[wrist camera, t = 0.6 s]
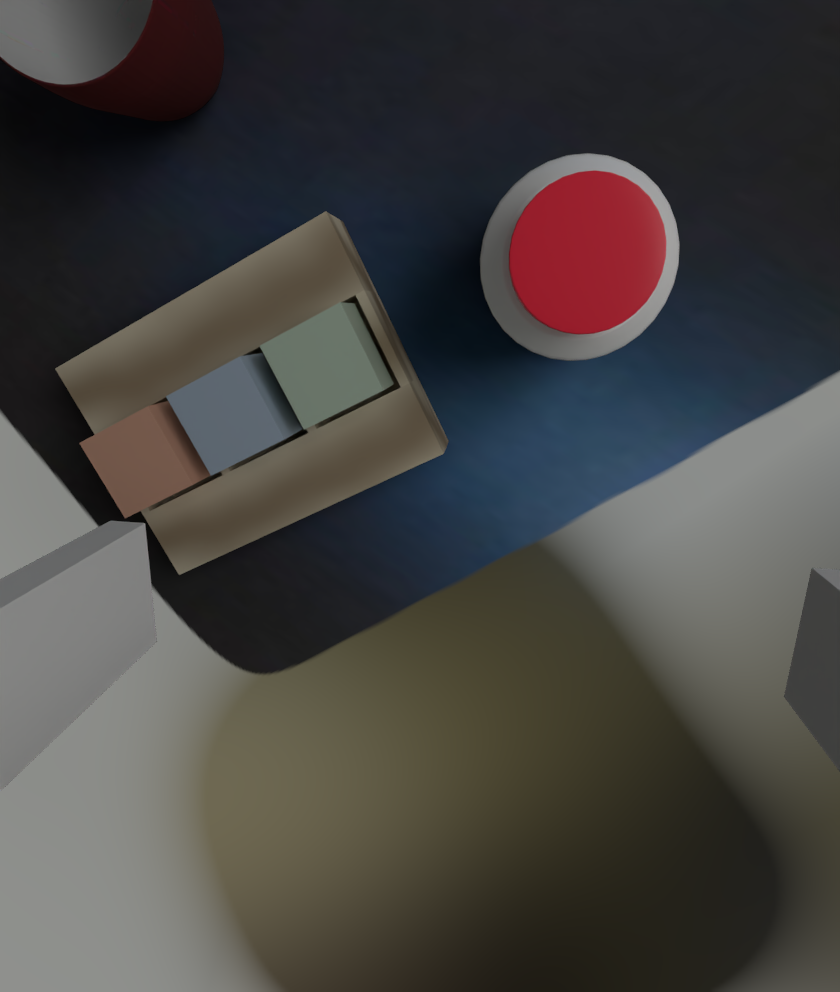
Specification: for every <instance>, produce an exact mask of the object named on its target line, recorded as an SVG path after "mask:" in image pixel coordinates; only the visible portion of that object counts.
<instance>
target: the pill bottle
mask: <svg viewBox="0 0 840 992" xmlns="http://www.w3.org/2000/svg"><path fill="white" fill-rule="evenodd" d="M678 264H679V238H678V231H677V225H676V221H675V218H674V216H673V213H672V210H671V208H670V205H669V203H668V201H667V200H666V198H665V197H664V195H663V194H662V192H661V190H660V189H659V187H658V186H657V185H656V184H655V183H654V182H653V181H652V180H651V179H650V178H649V177H648V176H647V175H646V174H645V173H644V172H642V171H640V170H639V169H637V168H636V167H634V166H632V165H631V164H629V163H628V162H625V161H622V160H619V159H616V158H614V157H611V156H607V155H599V154H590V153H585V154H575V155H567V156H564V157H560V158H557V159H554V160H551V161H548V162H546V163H544V164H542V165H540V166H539V167H537V168H535V169H533V170H531V171H530V172H528V173H527V174H526V175H525V176H523V177H522V178H521V179H520V180H519V181H517V182H516V183H515V184H514V185H513V186H512V187H511V188H510V189H509V191H508V192H507V193H506V194H505V196H504V197H503V198H502V199H501V200H500V202H499V203H498V205H497V207H496V209H495V211H494V212H493V214H492V216H491V218H490V220H489V223H488V225H487V228H486V231H485V234H484V237H483V241H482V248H481V255H480V277H481V283H482V288H483V292H484V296H485V299H486V302H487V304H488V306H489V308H490V310H491V313H492V315H493V316H494V318H495V319H496V321H497V322H498V323H499V325H500V326H501V328H502V329H503V330H504V331H505V332H506V333H507V334H508V335H509V336H510V337H511V338H512V339H513V340H514V341H515V342H517V343H518V344H520V345H521V346H523V347H525V348H526V349H528V350H530V351H531V352H534V353H536V354H539V355H542V356H545V357H548V358H552V359H559V360H566V361H574V360H588V359H592V358H596V357H600V356H604V355H607V354H609V353H611V352H613V351H615V350H617V349H619V348H622V347H624V346H625V345H626V344H628V343H629V342H631V341H632V340H633V339H635V338H636V337H638V336H639V335H640V334H641V333H642V332H643V331H644V330H645V329H646V328H647V327H648V326H649V325H650V324H651V323H652V322H653V321H654V319H655V318H656V317H657V315H658V314H659V312H660V311H661V309H662V308H663V306H664V305H665V303H666V301H667V299H668V296H669V294H670V292H671V289H672V287H673V285H674V281H675V277H676V273H677V268H678Z"/></svg>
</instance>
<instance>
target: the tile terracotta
mask: <svg viewBox="0 0 840 992" xmlns="http://www.w3.org/2000/svg"><path fill="white" fill-rule="evenodd" d="M80 445H81V447H82V448H83V450H84V452H85V453H86V455H87V457H88V458H89V460H90V462H91V463H92V465H93V466H94V468H95V470H96V471H97V473H98V475H99V476H100V478H101V480H102V481H103V483H104V485H105V486H106V488H107V489H108V491H109V493H110V494H111V496H112V498H113V499H114V501H115V503H116V504H117V506H118V508H119V509H120V511H121V512H122V514H123V516H124V517H125V518H127V517H129V516H131V515H133V514H135V513H137V512H139V511H141V510H143V509H145V508H147V507H149V506H151V505H153V504H155V503H157V502H159V501H161V500H163V499H165V498H167V497H169V496H171V495H173V494H175V493H177V492H179V491H181V490H184V489H186V488H188V487H190V486H192V485H194V484H195V483H197V482H199V481H201V480H203V479H205V478H206V477H208V476H210V473H209V471H208V470H207V468H206V466H205V464H204V463H203V461H202V459H201V457H200V456H199V454H198V452H197V450H196V449H195V447H194V445H193V443H192V442H191V440H190V438H189V436H188V434H187V433H186V431H185V429H184V427H183V426H182V424H181V422H180V420H179V419H178V417H177V415H176V413H175V412H174V410H173V408H172V406H171V405H170V403H169V401H166V402H162V403H158V404H154V405H150V406H147V407H145V408H143V409H142V410H140V411H138V412H136V413H134V414H132V415H130V416H129V417H127V418H125V419H123V420H121V421H119V422H118V423H116V424H114V425H112V426H110V427H108V428H106V429H105V430H103V431H101V432H99V433H97V434H95V435H93V436H92V437H90V438H88V439H86V440H84V441H82V442H81V443H80Z"/></svg>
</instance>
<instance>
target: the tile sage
mask: <svg viewBox="0 0 840 992" xmlns="http://www.w3.org/2000/svg"><path fill="white" fill-rule="evenodd" d="M260 348H261V350H262V352H263V353H264V355H265V357H266V359H267V361H268V363H269V365H270V367H271V369H272V370H273V372H274V374H275V376H276V378H277V380H278V382H279V384H280V386H281V387H282V389H283V391H284V393H285V395H286V397H287V399H288V401H289V403H290V404H291V406H292V408H293V410H294V412H295V414H296V416H297V418H298V420H299V421H300V423H301V425H302V427H303V429H304V430H305V429H307V428H309V427H311V426H313V425H315V424H317V423H319V422H321V421H323V420H325V419H327V418H329V417H331V416H333V415H335V414H337V413H339V412H341V411H343V410H345V409H347V408H349V407H351V406H353V405H355V404H357V403H359V402H361V401H363V400H365V399H367V398H369V397H371V396H373V395H375V394H377V393H379V392H381V391H383V390H385V389H387V388H388V387H390V386H391V385H393V384H394V383H393V381H392V379H391V377H390V375H389V373H388V371H387V368H386V366H385V364H384V362H383V360H382V358H381V356H380V354H379V352H378V350H377V348H376V346H375V344H374V342H373V340H372V338H371V336H370V334H369V332H368V330H367V328H366V326H365V324H364V322H363V320H362V318H361V316H360V313H359V311H358V309H357V307H356V305H355V304H354V303H343V302H340V303H338V304H336V305H334V306H332V307H330V308H329V309H327V310H325V311H323V312H321V313H319V314H317V315H316V316H314V317H312V318H310V319H308V320H306V321H304V322H303V323H301V324H299V325H297V326H295V327H293V328H292V329H290V330H288V331H286V332H284V333H282V334H280V335H279V336H277V337H275V338H273V339H271V340H269V341H267V342H266V343H264V344H262V345H260Z"/></svg>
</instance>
